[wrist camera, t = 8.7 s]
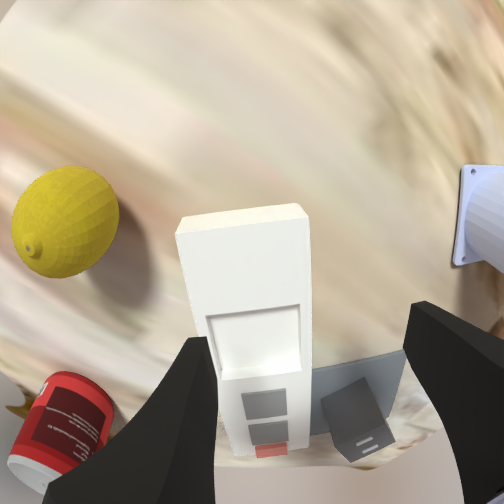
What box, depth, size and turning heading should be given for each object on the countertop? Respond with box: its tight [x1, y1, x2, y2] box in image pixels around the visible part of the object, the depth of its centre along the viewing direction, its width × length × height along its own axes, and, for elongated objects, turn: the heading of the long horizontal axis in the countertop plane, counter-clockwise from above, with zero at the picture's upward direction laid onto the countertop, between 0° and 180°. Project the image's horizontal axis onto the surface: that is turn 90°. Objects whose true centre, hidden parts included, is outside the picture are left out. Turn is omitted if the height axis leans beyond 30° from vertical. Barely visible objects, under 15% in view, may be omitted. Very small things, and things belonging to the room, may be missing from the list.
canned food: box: [7, 371, 113, 495], centre depth 20 cm, size 8×8×11 cm
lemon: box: [12, 166, 119, 278], centre depth 14 cm, size 6×6×8 cm
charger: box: [321, 377, 396, 463], centre depth 24 cm, size 4×4×6 cm
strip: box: [175, 203, 312, 458], centre depth 22 cm, size 25×7×4 cm, turn 6°
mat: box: [310, 350, 407, 436], centre depth 26 cm, size 10×10×1 cm
